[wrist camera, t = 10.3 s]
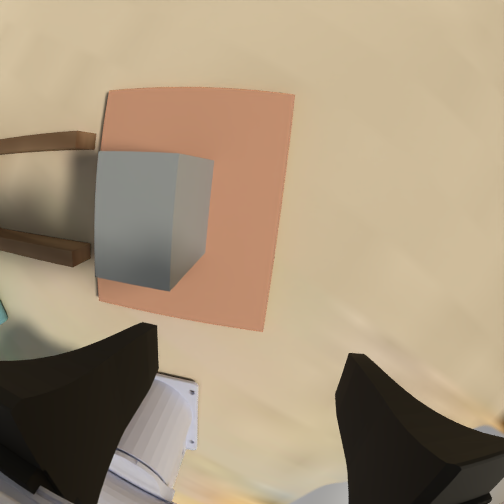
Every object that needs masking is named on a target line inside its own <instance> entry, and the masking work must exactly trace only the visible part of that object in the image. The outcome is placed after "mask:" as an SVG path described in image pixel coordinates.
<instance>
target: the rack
mask: <svg viewBox="0 0 504 504" xmlns="http://www.w3.org/2000/svg"><path fill="white" fill-rule="evenodd" d="M95 140H96V134H94V133H88V132H81V131H69V132H57V133H46V134H37V135H29V136H21V137H14V138H7V139H0V155H2V154H13V153H25V152H40V151H59V150H94V149H95ZM0 250H2V251H6V252H10V253H14V254H18V255H22V256H26V257H30V258H34V259H38V260H43V261H47V262H51V263H56V264H60V265H65V266H69V267H74V266H76V265H78V264H80V263H82V262H84V261H86V260H88V259H90V258H91V249H90V243H85V242H79V241H73V240H66V239H60V238H55V237H49V236H43V235H37V234H31V233H25V232H19V231H14V230H8V229H2V228H0Z"/></svg>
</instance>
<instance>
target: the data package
mask: <svg viewBox="0 0 504 504" xmlns="http://www.w3.org/2000/svg"><path fill="white" fill-rule="evenodd" d="M7 319H8V317H7V314H6V312H5V310H4V308H3V306H2V304H1V301H0V325H1V324H2V323H4V322H5V321H6V320H7Z"/></svg>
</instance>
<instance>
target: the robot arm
mask: <svg viewBox="0 0 504 504" xmlns="http://www.w3.org/2000/svg"><path fill="white" fill-rule="evenodd" d="M158 369H159V365H158V339H157V325H153V324H148V323H144V322H142V323H139V324H137V325H134V326H132V327H130V328H128V329H125V330H123V331H121V332H119V333H117V334H114V335H112V336H110V337H108V338H106V339H103V340H101V341H98V342H96V343H93V344H91V345H88V346H86V347H83V348H80V349H77V350H74V351H71V352H67V353H63V354H59V355H55V356H50V357H44V358H38V359H31V360H19V361H0V504H176V503H174V502H172V499H173V496H174V493H175V490H173V486H174V484H175V481H176V478H177V475H178V472H179V469H180V466H181V463H182V460H183V457H184V454H185V451H186V449H190V450H196V449H197V434H198V388H199V387H198V384H197V383H196V382H194V381H189V380H185V379H180V378H175V377H171V376H167V375H163V374H158V373H157V371H158ZM190 390H193V391H194V392H192V391H190ZM335 400H336V415H337V420H338V425H339V430H340V435H341V439H342V444H343V449H344V454H345V458H346V464H347V472H348V489H349V490H348V491H349V504H488V503H490V502H491V500H492V497H491V495H490V493H489V492H490V491H491V490H492V489H493V488H494V487H495V486H496V485H497V484H498V483H499V482H500V480H502V478H503V477H504V438H502V437H498V436H494V435H490V434H486V433H482V432H479V431H477V430H474V429H471V428H468V427H466V426H463V425H461V424H459V423H456V422H454V421H452V420H450V419H448V418H446V417H444V416H442V415H441V414H439V413H437V412H435V411H434V410H432V409H431V408H429V407H427V406H426V405H424V404H423V403H421V402H420V401H418V400H417V399H416V398H414V397H413V396H412V395H411V394H409V393H408V392H407V391H405V390H404V389H403V388H402V387H401V386H399V385H398V384H397V383H396V382H395V381H394V380H393V379H391V378H390V377H389V376H388V375H387V374H386V373H385V372H384V371H383V370H382V369H381V368H380V367H378V366H377V365H376V364H375V363H374V362H373V361H372V360H371V359H370V358H368V357H367V356H366V355H365V354H356V353H349V354H348V358H347V361H346V364H345V367H344V370H343V373H342V376H341V379H340V382H339V385H338V387H337V390H336V393H335ZM500 504H504V502H502V503H500Z"/></svg>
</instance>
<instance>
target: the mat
mask: <svg viewBox="0 0 504 504" xmlns="http://www.w3.org/2000/svg"><path fill="white" fill-rule="evenodd" d="M294 99H295V95H293V94H285V93H277V92H268V91H258V90H246V89H232V88H210V87H157V88H136V89H122V90H110V91H109V94H108V100H107V106H106V112H105V119H104V126H103V134H102V143H101V151H134V152H161V153H179V154H185V155H190V156H195V157H200V158H204V159H209V160H214V168H213V177H212V186H211V196H210V206H209V216H208V226H207V238H206V249H205V254H204V255H203V256H202V257H201V258H200V259H199V260H198V261H197V262H196V263H195V264H194V265H193V267H192V268H191V269H190V270H189V271H188V272H187V273H186V274H185V275H184V276H183V277H182V279H181V280H180V281H179V282H178V283H177V284H176V285H175V286H174V287H173V288H172V290H171V291H170V292H169V291H164V290H158V289H153V288H147V287H142V286H137V285H132V284H127V283H122V282H117V281H112V280H107V279H103V278H98V277H97V278H98V295H99V301H102V302H107V303H111V304H115V305H119V306H124V307H128V308H132V309H137V310H142V311H146V312H151V313H156V314H161V315H166V316H171V317H176V318H181V319H186V320H192V321H197V322H203V323H209V324H215V325H221V326H227V327H233V328H240V329H246V330H253V331H260V332H263V328H264V322H265V315H266V309H267V302H268V296H269V289H270V282H271V276H272V269H273V262H274V255H275V248H276V241H277V234H278V226H279V219H280V212H281V204H282V197H283V189H284V182H285V174H286V166H287V158H288V150H289V142H290V134H291V125H292V117H293V108H294Z"/></svg>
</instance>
